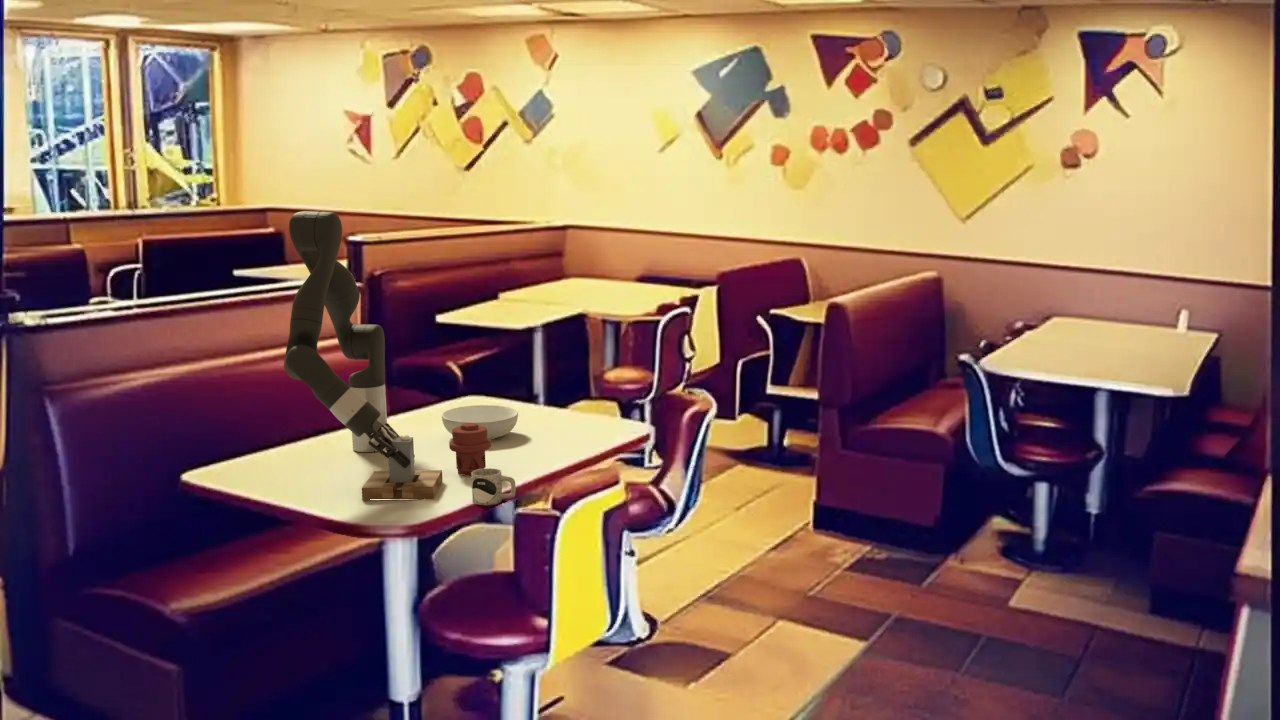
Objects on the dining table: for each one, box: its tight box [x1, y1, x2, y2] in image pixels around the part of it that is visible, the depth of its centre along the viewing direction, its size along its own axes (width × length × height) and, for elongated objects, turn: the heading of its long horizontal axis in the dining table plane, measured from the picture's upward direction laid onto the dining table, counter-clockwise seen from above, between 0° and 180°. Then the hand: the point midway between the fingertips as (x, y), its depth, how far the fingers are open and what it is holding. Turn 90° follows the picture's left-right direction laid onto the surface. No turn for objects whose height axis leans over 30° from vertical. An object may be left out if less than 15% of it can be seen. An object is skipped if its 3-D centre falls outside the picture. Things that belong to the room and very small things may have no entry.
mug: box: [471, 467, 517, 506], centre depth 262 cm, size 10×7×7 cm, turn 80°
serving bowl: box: [441, 404, 519, 440], centre depth 322 cm, size 21×21×7 cm
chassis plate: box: [361, 469, 443, 501], centre depth 271 cm, size 14×16×3 cm
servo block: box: [388, 434, 416, 483], centre depth 270 cm, size 4×5×10 cm
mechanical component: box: [448, 423, 492, 478], centre depth 284 cm, size 12×10×10 cm
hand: (410, 462), depth 270 cm, fingers closed on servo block, 4 cm apart
